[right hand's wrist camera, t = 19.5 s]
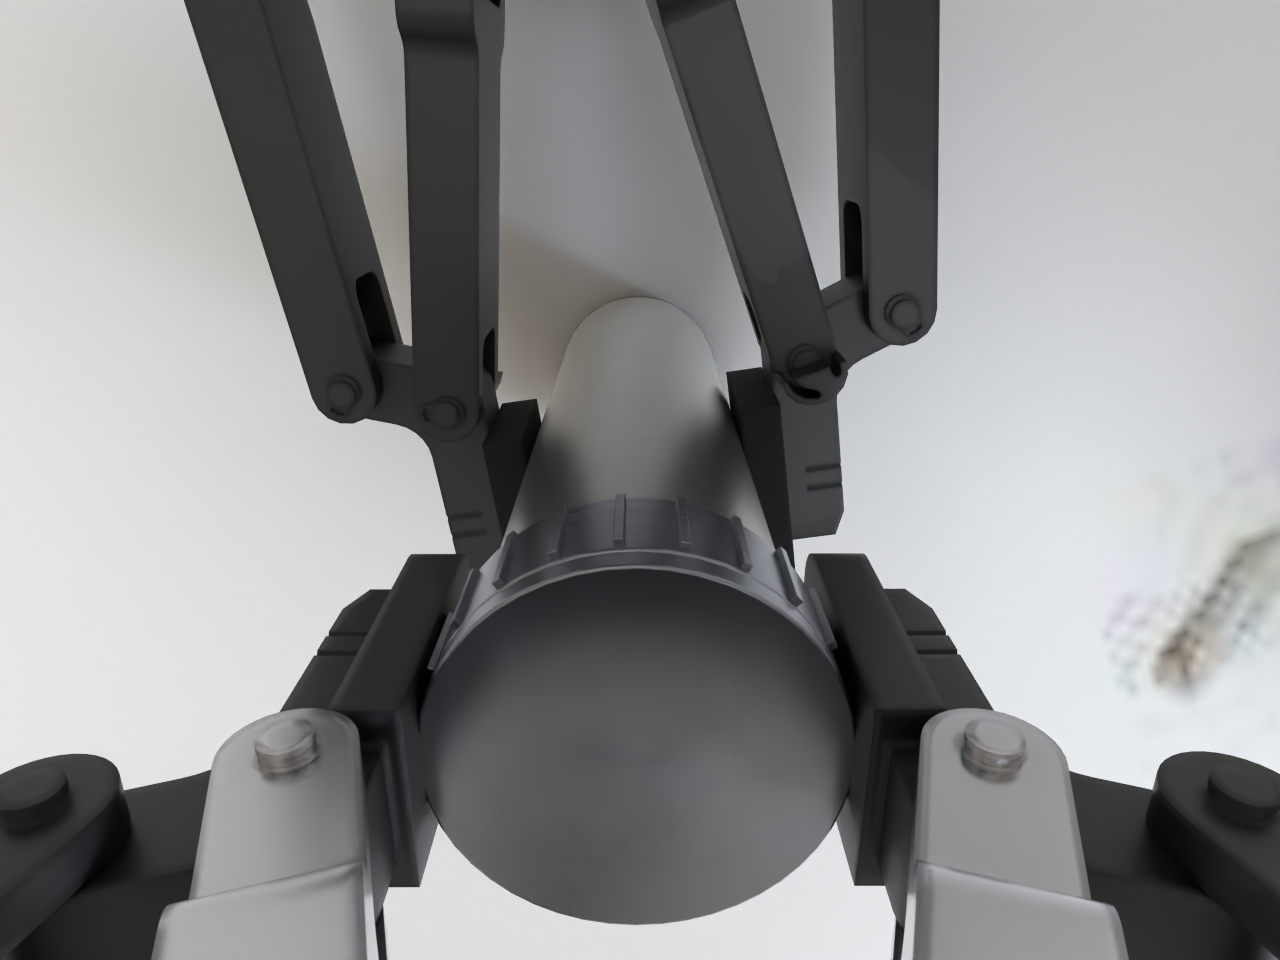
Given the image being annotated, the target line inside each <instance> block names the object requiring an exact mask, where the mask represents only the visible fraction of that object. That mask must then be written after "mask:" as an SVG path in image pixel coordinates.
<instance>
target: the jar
mask: <svg viewBox="0 0 1280 960" xmlns="http://www.w3.org/2000/svg"><path fill="white" fill-rule="evenodd" d="M616 494H625V495H626V498H649V499H664V500H670V501H676V497H681V498H685V499H686V504H691V505H694V506H697V507H700V508H703V509H707V510H710V511H713V512H716V513H718V514H720V515H722V516H725V517H727V518H729V519H731V518H732V516H733V515H735V516H737V517H739V518H741V520H742V524H743V526H744V527H746V528H747V529H749V530H751V531H752V532H754V533H755V534H757V535H758V536H760V537H761V538H762V539H764V540H765V541H766V542H767V543H768V544H770V545H771V546H772V547H773V548H774V545H773V542H772V538H771V535H770V532H769V529H768V526H767V523H766V520H765V517H764V514H763V510H762V507H761V504H760V501H759V498H758V495H757V492H756V489H755V485H754V482H753V479H752V476H751V473H750V470H749V467H748V464H747V461H746V457H745V454H744V451H743V448H742V445H741V442H740V439H739V436H738V432H737V429H736V426H735V423H734V420H733V417H732V414H731V411H730V408H729V404H728V401H727V398H726V395H725V392H724V389H723V386H722V383H721V379H720V376H719V373H718V370H717V367H716V364H715V361H714V358H713V355H712V351H711V348H710V345H709V343H708V341H707V339H706V336H705V335H704V333H703V332H702V330H701V328H700V327H699V326H698V325H697V323H696V322H695V321H694V320H693V319H692V318H691V317H690V316H689V315H688V314H686V313H685V312H684V311H682V310H681V309H679V308H678V307H676V306H674V305H672V304H670V303H668V302H665V301H662V300H659V299H654V298H649V297H628V298H623V299H618V300H615V301H612V302H609V303H607V304H605V305H603V306H601V307H599V308H598V309H596V310H595V311H593V312H592V313H591V314H590V315H588V316H587V317H586V318H585V319H584V320H583V321H582V322H581V323H580V325H579V326H578V327H577V329H576V330H575V332H574V333H573V335H572V337H571V339H570V341H569V343H568V345H567V348H566V351H565V355H564V358H563V361H562V364H561V367H560V370H559V373H558V376H557V379H556V382H555V385H554V388H553V391H552V394H551V397H550V400H549V403H548V406H547V409H546V412H545V415H544V418H543V421H542V424H541V427H540V430H539V433H538V436H537V439H536V442H535V445H534V448H533V451H532V454H531V457H530V460H529V463H528V466H527V469H526V472H525V475H524V478H523V481H522V484H521V487H520V490H519V493H518V496H517V499H516V502H515V505H514V508H513V511H512V514H511V517H510V520H509V523H508V526H507V529H506V532H505V535H504V538H503V541H502V544H501V547H502V546H503V545H504V543H505V540H506V537H507V534H509V533H510V532H512V531H513V530H514V531H515V532H516V533H517V534H518V533H520V532H522V531H523V530H525V529H527V528H528V527H530V526H531V525H533V524H535V523H536V522H538V521H541V520H543V519H545V518H547V517H549V516H552V515H554V514H556V513H557V508H558V507H560V506H563V505H566V506H567V508H568V509H570V508H574V507H577V506H580V505H583V504H587V503H593V502H599V501H604V500H610V499H616ZM501 547H500V548H501ZM774 549H775V548H774Z"/></svg>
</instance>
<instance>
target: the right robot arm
mask: <svg viewBox="0 0 1280 960" xmlns="http://www.w3.org/2000/svg"><path fill="white" fill-rule="evenodd" d="M469 573H470V564H469V560H468V557H467V555H466V554H411V555H410V556H409V558H408V559H407V561H406V563H405V565H404V567H403V569H402V571H401V572H400V574H399V576H398V578H397V580H396V582H395V584H394V586H393V587H392V589H391V590H369V591H368V592H366V593H365V594H363V595H362V596H361V597H359V598H358V599H356V600H355V601H354V602H352V603H351V604H349V605H348V606H347V607H345V608H344V609H343V610H342V611H341V613H340V615H339V616H338V618H337V619H336V621H335V623H334V624H333V626H332V628H331V629H330V631H329V636H326V637H325V639H324V641H323V642H322V644H321V646H320V647H319V649H318V650H317V656H314V657H313V659H312V660H311V662H310V663H309V665H308V667H307V668H306V670H305V672H304V673H303V675H302V676H301V678H300V680H299V681H298V683H297V685H296V686H295V688H294V690H293V691H292V693H291V694H290V696H289V698H288V699H287V701H286V703H285V704H284V706H283V707H282V709H281V711H280V712H279V713H275V714H272V715H269V716H266V717H264V718H261V719H259V720H257V721H254V722H252V723H251V724H249V725H247V726H245V727H243V728H242V729H240V730H239V731H237V732H236V733H235V734H233V735H232V736H231V737H230V738H229V739H228V740H226V741H225V743H224V744H223V745H222V746H221V747H220V748H219V750H218V752H217V753H216V755H215V757H214V760H213V763H212V768H211V770H208V771H206V772H203V773H200V774H197V775H193V776H189V777H185V778H181V779H176V780H172V781H167V782H162V783H158V784H153V785H148V786H143V787H139V788H134V789H129V790H124V789H123V785H122V782H121V778H120V774H119V772H118V769H117V767H116V766H115V765H114V764H113V763H112V762H110V761H109V760H107V759H105V758H102V757H99V756H96V755H89V754H67V755H58V756H53V757H48V758H44V759H40V760H37V761H33V762H30V763H27V764H24V765H21V766H19V767H16V768H14V769H12V770H9V771H7V772H5V773H3V774H1V775H0V960H389V949H388V937H387V929H386V922H385V915H384V908H383V903H384V900H385V897H386V894H387V890H388V887H420V884H421V881H422V877H423V874H424V870H425V867H426V863H427V860H428V856H429V853H430V849H431V846H432V842H433V839H434V836H435V832H436V829H437V825H438V820H437V819H436V817H435V815H434V813H433V811H432V809H431V807H430V805H429V802H428V799H427V796H426V789H425V781H424V772H423V763H422V754H421V745H420V735H419V714H420V709H421V706H422V703H423V699H424V696H425V693H426V690H427V687H428V684H429V681H430V679H431V677H430V676H427V675H425V671H426V668H427V665H428V663H429V660H430V658H431V655H432V652H433V650H434V647H435V645H436V642H437V640H438V637H439V635H440V632H441V630H442V627H443V625H444V622H445V620H446V617H447V614H448V612H451V613H454V611H455V609H456V606H457V603H458V601H459V598H460V596H461V593H462V590H463V588H464V585H465V582H466V580H467V577H468V575H469ZM804 584H805V586H806V587H807V589H808V590H809V589H811V588H815V590H816V592H817V594H818V596H819V599H820V602H821V604H822V607H823V609H824V612H825V615H826V617H827V620H828V622H829V625H830V628H831V630H832V633H833V636H834V638H835V641H836V643H837V646H838V648H837V649H834V650H832V651H833V653H834V656H835V659H836V662H837V664H838V667H839V670H840V673H841V675H842V678H843V681H844V683H845V686H846V689H847V692H848V695H849V699H850V702H851V706H852V709H853V712H854V719H855V739H854V750H853V759H852V768H851V777H850V786H849V792H848V795H847V798H846V800H845V803H844V806H843V808H842V810H841V812H840V814H839V816H838V818H837V819H836V822H837V825H838V829H839V832H840V836H841V839H842V843H843V847H844V850H845V854H846V857H847V861H848V864H849V868H850V871H851V875H852V879H853V882H854V886H885V887H886V890H887V893H888V896H889V899H890V902H891V905H892V909H893V912H894V914H895V922H894V929H893V937H892V949H891V960H1280V774H1279V773H1277V772H1275V771H1273V770H1271V769H1268V768H1266V767H1264V766H1262V765H1259V764H1256V763H1254V762H1251V761H1248V760H1245V759H1242V758H1238V757H1235V756H1231V755H1226V754H1221V753H1214V752H1204V751H1201V752H1185V753H1179V754H1176V755H1173V756H1171V757H1169V758H1167V759H1166V760H1164V761H1163V763H1162V764H1161V765H1160V767H1159V769H1158V771H1157V775H1156V779H1155V782H1154V786H1153V790H1150V789H1145V788H1141V787H1136V786H1131V785H1126V784H1122V783H1117V782H1112V781H1108V780H1103V779H1098V778H1093V777H1089V776H1085V775H1081V774H1077V773H1074V772H1071V771H1069V768H1068V763H1067V760H1066V757H1065V755H1064V753H1063V752H1062V750H1061V748H1060V747H1059V746H1058V745H1057V744H1056V743H1055V741H1054V740H1052V739H1051V738H1050V737H1049V736H1048V735H1047V734H1045V733H1044V732H1043V731H1041V730H1040V729H1038V728H1037V727H1035V726H1033V725H1031V724H1029V723H1028V722H1026V721H1023V720H1021V719H1019V718H1016V717H1014V716H1011V715H1008V714H1005V713H1001V712H997V711H994V710H993V708H992V707H991V705H990V703H989V702H988V700H987V698H986V697H985V695H984V693H983V692H982V690H981V688H980V687H979V685H978V683H977V682H976V680H975V679H974V677H973V675H972V674H971V672H970V670H969V669H968V667H967V665H966V664H965V662H964V660H963V659H962V657H961V655H957V649H956V647H955V645H954V644H953V642H952V640H951V639H950V637H949V636H946V631H945V629H944V627H943V626H942V624H941V622H940V621H939V619H938V617H937V616H936V614H935V612H934V611H933V609H932V608H931V607H929V606H928V605H927V604H925V603H924V602H922V601H921V600H920V599H918V598H917V597H915V596H914V595H913V594H911V593H910V592H908V591H907V590H906V589H883V587H882V585H881V583H880V581H879V579H878V577H877V575H876V574H875V572H874V570H873V568H872V566H871V564H870V562H869V560H868V558H867V557H866V555H865V554H809V556H808V558H807V562H806V567H805V578H804Z"/></svg>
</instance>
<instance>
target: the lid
mask: <svg viewBox="0 0 1280 960" xmlns="http://www.w3.org/2000/svg"><path fill="white" fill-rule="evenodd" d="M837 648H838V646H837V643H836V641H835V638H834V636H833V633H832V630H831V628H830V625H829V622H828V620H827V617H826V615H825V612H824V609H823V607H822V604H821V602H820V599H819V596H818V594H817V592H816V590H815V588H811V589H809V590H808V589H807V587H806V586H805V584H804V583H803V581H802V580H801V578H800V577H799V575H798V574H797V572H796V571H795V570H794V569H793V567H792V566H791V564H790V561H789V558H788V555H787V552H786V551H785V550H784V549H783V548H782V547H781V546H780V547H779V548H778V549H774V548H773V547H772V546H771V545H770V544H768V543H767V542H766V541H765V540H764V539H762V538H761V537H760V536H758V535H757V534H755V533H754V532H752V531H751V530H749V529H747V528H746V527H744V526H743V524H742V520H741V518H739V517H737V516H735V515H733V516H732V518H731V519H729V518H727V517H725V516H722V515H720V514H718V513H716V512H713V511H710V510H707V509H703V508H700V507H697V506H694V505H691V504H686V499H685V498H681V497H676V501H670V500H664V499H649V498H626V495H625V494H616V499H610V500H604V501H599V502H593V503H587V504H583V505H580V506H577V507H574V508H570V509H568V508H567V506H566V505H563V506H560V507H558V508H557V513H556V514H554V515H552V516H549V517H547V518H545V519H543V520H541V521H538V522H536V523H535V524H533V525H531V526H530V527H528V528H527V529H525V530H523V531H522V532H520V533H518V534H517V533H516V532H515V531H514V530H513V531H512V532H510V533H509V534H507V537H506V540H505V543H504V545H503V546H502V547H501V548H499V549H498V550H497V551H496V552H495V553H494V554H493V555H492V556H491V557H490V558H489V560H488V561H487V562H486V563H485V564H484V565H483V566H482V567H481V568H480V570H478V569H476V568H473V569H472V570H471V571H470V573H469V575H468V577H467V580H466V582H465V585H464V588H463V590H462V593H461V596H460V598H459V601H458V603H457V606H456V609H455V611H454V613H451V612H448V614H447V617H446V620H445V622H444V625H443V627H442V630H441V632H440V635H439V637H438V640H437V642H436V645H435V647H434V650H433V652H432V655H431V658H430V660H429V663H428V665H427V668H426V671H425V675H427V676H430V677H431V679H430V681H429V684H428V687H427V690H426V693H425V696H424V699H423V703H422V706H421V709H420V714H419V735H420V745H421V754H422V763H423V772H424V781H425V789H426V796H427V799H428V802H429V805H430V807H431V809H432V811H433V813H434V815H435V817H436V819H437V820H438V822H439V824H440V826H441V828H442V829H443V830H444V832H445V833H446V835H447V836H448V837H449V839H450V840H451V842H452V843H453V844H454V846H455V847H456V848H457V849H458V850H459V851H460V852H461V853H462V854H463V855H464V856H465V857H466V858H467V859H468V861H469V862H470V863H471V864H472V865H474V866H475V867H476V868H477V869H479V870H480V871H481V872H482V873H483V874H485V875H486V876H487V877H488V878H489V879H491V880H492V881H494V882H495V883H497V884H499V885H500V886H502V887H503V888H505V889H506V890H508V891H509V892H511V893H513V894H515V895H517V896H519V897H521V898H523V899H525V900H527V901H529V902H531V903H533V904H535V905H538V906H541V907H543V908H546V909H549V910H551V911H554V912H557V913H560V914H564V915H568V916H572V917H576V918H579V919H583V920H590V921H596V922H603V923H609V924H628V925H645V924H664V923H671V922H678V921H685V920H690V919H694V918H698V917H702V916H706V915H710V914H714V913H717V912H719V911H722V910H725V909H728V908H731V907H733V906H736V905H738V904H741V903H743V902H745V901H747V900H749V899H751V898H753V897H755V896H757V895H759V894H761V893H763V892H764V891H766V890H767V889H769V888H771V887H772V886H774V885H775V884H777V883H778V882H780V881H782V880H783V879H784V878H785V877H787V876H788V875H789V874H790V873H791V872H793V871H794V870H795V869H796V868H798V867H799V866H800V865H801V864H802V863H803V862H804V861H805V860H806V859H807V858H808V857H809V856H810V855H811V854H812V853H813V852H814V851H815V850H816V849H817V848H818V846H819V845H820V844H821V842H822V841H823V839H824V838H825V837H826V835H827V834H828V833H829V831H830V830H831V829H832V827H833V825H834V823H835V821H836V819H837V818H838V816H839V814H840V812H841V810H842V808H843V806H844V803H845V800H846V798H847V795H848V792H849V786H850V777H851V768H852V759H853V750H854V739H855V719H854V712H853V709H852V706H851V702H850V699H849V695H848V692H847V689H846V686H845V683H844V681H843V678H842V675H841V673H840V670H839V667H838V664H837V662H836V659H835V656H834V653H833V651H832V650H834V649H837Z"/></svg>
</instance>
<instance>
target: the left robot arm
mask: <svg viewBox="0 0 1280 960" xmlns="http://www.w3.org/2000/svg"><path fill="white" fill-rule="evenodd" d="M184 2H185V5H186V8H187V11H188V14H189V18H190V21H191V24H192V27H193V30H194V33H195V36H196V39H197V42H198V45H199V49H200V52H201V55H202V58H203V61H204V64H205V67H206V70H207V73H208V76H209V80H210V83H211V86H212V89H213V92H214V95H215V98H216V101H217V104H218V107H219V111H220V114H221V117H222V120H223V123H224V126H225V129H226V132H227V135H228V139H229V142H230V145H231V148H232V151H233V154H234V157H235V160H236V163H237V166H238V170H239V173H240V176H241V179H242V182H243V185H244V188H245V191H246V194H247V197H248V201H249V204H250V207H251V210H252V213H253V216H254V219H255V222H256V225H257V228H258V232H259V235H260V238H261V241H262V244H263V247H264V250H265V253H266V256H267V259H268V263H269V266H270V269H271V272H272V275H273V278H274V281H275V284H276V287H277V290H278V294H279V297H280V300H281V303H282V306H283V309H284V312H285V315H286V318H287V322H288V325H289V328H290V331H291V334H292V337H293V340H294V343H295V346H296V349H297V353H298V356H299V359H300V362H301V365H302V368H303V371H304V374H305V377H306V380H307V384H308V387H309V390H310V393H311V396H312V399H313V401H314V402H315V404H316V406H317V408H318V410H319V411H321V412H322V413H323V414H324V415H325V416H326V417H327V418H329V419H331V420H334V421H336V422H339V423H355V422H358V421H361V420H363V419H365V418H366V419H371V420H376V421H381V422H386V423H391V424H397V425H400V426H403V427H406V428H408V429H410V430H412V431H413V432H415V433H417V434H418V435H419V436H420V437H421V438H422V439H423V440H424V441H425V443H426V444H427V446H428V447H429V449H430V452H431V455H432V457H433V461H434V466H435V470H436V474H437V478H438V482H439V486H440V490H441V494H442V498H443V502H444V506H445V510H446V514H447V516H448V523H449V527H450V531H451V534H452V536H453V538H452V539H453V543H454V547H455V551H456V554H466V555H467V557H468V560H469V564H470V571H471V570H472V569H473V568H476V569H478V570H480V568H481V567H482V566H483V565H484V564H485V563H486V562H487V561H488V560H489V558H490V557H491V556H492V555H493V554H494V553H495V552H496V551H497V550H498V549H499V548H500V547H501V544H502V541H503V538H504V535H505V532H506V529H507V526H508V523H509V520H510V517H511V514H512V511H513V508H514V505H515V502H516V499H517V496H518V493H519V490H520V487H521V484H522V481H523V478H524V475H525V472H526V469H527V466H528V463H529V460H530V457H531V454H532V451H533V448H534V445H535V442H536V439H537V436H538V433H539V430H540V427H541V419H540V414H539V409H538V403H537V399H532V400H524V401H517V402H510V403H503V404H502V405H501V407H500V409H499V406H498V402H497V397H496V392H495V391H496V389H497V388H498V386H499V384H500V382H501V378H502V373H503V372H499V371H498V296H499V171H500V65H501V57H502V52H503V46H504V28H505V0H395V10H396V19H397V24H398V29H399V32H400V35H401V38H402V41H403V47H404V63H405V99H406V134H407V170H408V205H409V241H410V277H411V312H412V346H408V345H403V342H402V338H401V334H400V331H399V327H398V324H397V320H396V316H395V313H394V309H393V306H392V302H391V298H390V295H389V291H388V287H387V284H386V280H385V277H384V273H383V269H382V266H381V262H380V259H379V255H378V251H377V248H376V244H375V240H374V237H373V233H372V230H371V226H370V222H369V219H368V215H367V212H366V208H365V204H364V201H363V197H362V194H361V190H360V186H359V183H358V179H357V175H356V172H355V168H354V165H353V161H352V157H351V154H350V150H349V147H348V143H347V139H346V136H345V132H344V128H343V125H342V121H341V118H340V114H339V110H338V107H337V103H336V100H335V96H334V92H333V89H332V85H331V82H330V78H329V74H328V71H327V67H326V63H325V60H324V56H323V53H322V49H321V45H320V42H319V38H318V35H317V31H316V27H315V24H314V20H313V17H312V14H311V11H310V8H309V5H308V2H307V0H184ZM646 3H647V6H648V9H649V12H650V15H651V18H652V21H653V24H654V26H655V29H656V31H657V34H658V36H659V39H660V42H661V45H662V48H663V51H664V54H665V57H666V61H667V64H668V67H669V70H670V73H671V76H672V79H673V82H674V85H675V88H676V91H677V94H678V97H679V101H680V104H681V107H682V110H683V113H684V116H685V119H686V122H687V125H688V128H689V131H690V134H691V137H692V141H693V144H694V147H695V150H696V153H697V156H698V159H699V162H700V165H701V168H702V171H703V174H704V177H705V181H706V184H707V187H708V190H709V193H710V196H711V199H712V202H713V205H714V208H715V211H716V214H717V218H718V221H719V224H720V227H721V230H722V233H723V236H724V239H725V242H726V245H727V248H728V251H729V254H730V258H731V261H732V264H733V267H734V270H735V273H736V276H737V279H738V282H739V285H740V288H741V291H742V294H743V298H744V301H745V304H746V307H747V310H748V313H749V316H750V319H751V322H752V325H753V328H754V331H755V334H756V338H757V341H758V344H759V346H760V347H761V356H762V367H763V369H762V367H759V368H752V369H745V370H738V371H731V372H726V373H727V382H728V391H729V400H730V409H731V414H732V417H733V420H734V423H735V426H736V429H737V432H738V436H739V439H740V442H741V445H742V448H743V451H744V454H745V457H746V461H747V464H748V467H749V470H750V473H751V476H752V479H753V482H754V485H755V489H756V492H757V495H758V498H759V501H760V504H761V507H762V510H763V514H764V517H765V520H766V523H767V526H768V529H769V532H770V535H771V538H772V542H773V545H774V548H775V549H778V548H779V547H780V546H781V547H782V548H783V549H784V550H785V551H786V552H787V555H788V558H789V561H790V564H791V566H792V567H793V569H794V570H795V563H794V552H793V541H792V540H794V539H802V538H809V537H817V536H825V535H832V534H836V531H837V528H838V526H839V523H840V520H841V517H842V514H843V511H844V505H843V490H842V475H841V466H840V463H841V460H840V445H839V429H838V414H837V394H838V393H839V392H840V390H841V389H842V388H843V387H844V384H845V381H846V378H847V375H848V370H849V368H850V367H851V366H852V365H854V364H855V363H857V362H858V361H860V360H861V359H863V358H865V357H867V356H869V355H871V354H873V353H875V352H877V351H879V350H881V349H883V348H885V347H887V346H889V345H902V346H904V345H907V344H910V343H914V342H916V341H918V340H919V339H920V338H922V337H923V336H924V335H926V334H927V333H928V331H929V329H930V328H931V326H932V325H933V323H934V321H935V316H936V311H937V243H938V128H939V13H940V0H832V5H833V38H834V70H835V103H836V135H837V168H838V200H839V233H840V265H841V280H840V281H838V282H836V283H834V284H832V285H830V286H828V287H826V288H824V289H822V290H820V288H819V285H818V281H817V278H816V274H815V271H814V268H813V264H812V261H811V257H810V254H809V250H808V247H807V244H806V240H805V237H804V233H803V230H802V227H801V223H800V220H799V216H798V213H797V209H796V206H795V203H794V199H793V196H792V192H791V189H790V185H789V182H788V179H787V175H786V172H785V168H784V165H783V162H782V158H781V155H780V151H779V148H778V144H777V141H776V138H775V134H774V131H773V127H772V124H771V121H770V117H769V114H768V110H767V107H766V103H765V100H764V97H763V93H762V90H761V86H760V83H759V79H758V76H757V73H756V69H755V66H754V62H753V59H752V56H751V52H750V49H749V45H748V42H747V38H746V35H745V32H744V28H743V25H742V21H741V18H740V15H739V11H738V8H737V4H736V1H735V0H646Z"/></svg>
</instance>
